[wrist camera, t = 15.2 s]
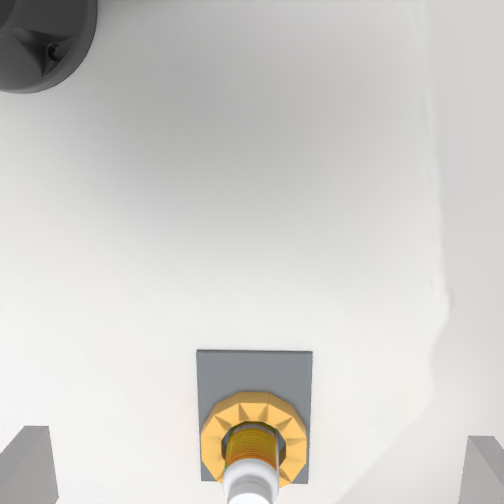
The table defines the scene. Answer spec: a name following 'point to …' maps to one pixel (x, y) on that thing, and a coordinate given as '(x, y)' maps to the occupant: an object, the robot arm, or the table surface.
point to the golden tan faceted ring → (255, 409)
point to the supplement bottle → (251, 464)
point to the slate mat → (255, 386)
